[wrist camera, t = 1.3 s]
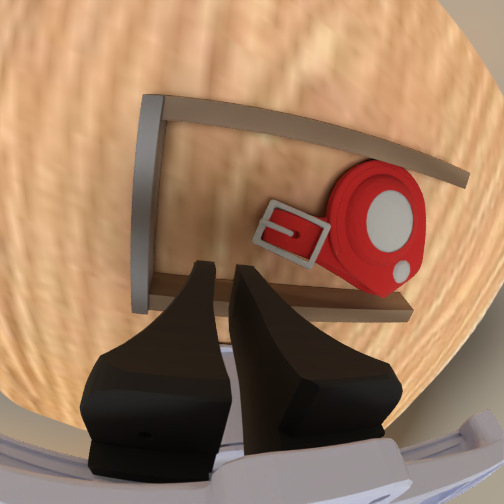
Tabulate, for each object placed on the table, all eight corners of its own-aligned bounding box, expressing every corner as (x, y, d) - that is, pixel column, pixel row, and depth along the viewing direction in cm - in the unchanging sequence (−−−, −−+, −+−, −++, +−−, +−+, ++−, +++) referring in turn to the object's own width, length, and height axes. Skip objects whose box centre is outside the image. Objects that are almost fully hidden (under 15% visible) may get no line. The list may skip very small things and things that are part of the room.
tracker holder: (412, 134, 17) (452, 266, 20) (374, 142, 22) (415, 255, 24) (247, 219, 16) (321, 365, 18) (232, 215, 20) (295, 337, 23)
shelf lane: (394, 303, 25) (410, 325, 23) (139, 285, 21) (131, 312, 18) (448, 163, 19) (474, 175, 17) (153, 94, 15) (142, 94, 13)
